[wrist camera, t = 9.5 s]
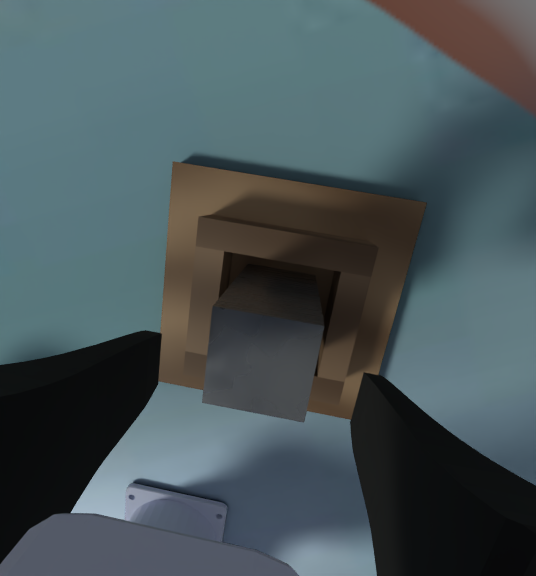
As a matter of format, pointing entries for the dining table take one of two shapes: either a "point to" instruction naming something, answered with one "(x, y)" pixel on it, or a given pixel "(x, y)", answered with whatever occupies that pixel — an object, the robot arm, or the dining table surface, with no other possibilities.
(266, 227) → the socket holder
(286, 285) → the metal pin
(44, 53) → the dining table surface
